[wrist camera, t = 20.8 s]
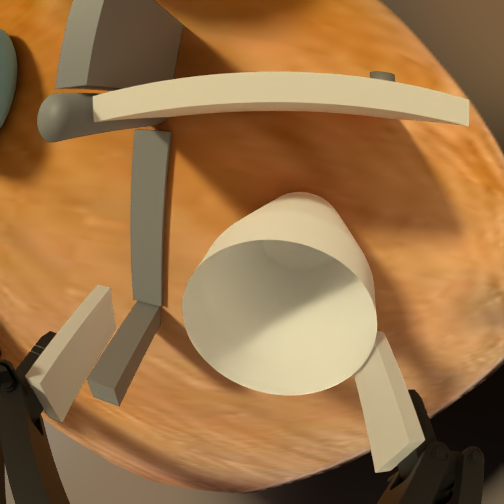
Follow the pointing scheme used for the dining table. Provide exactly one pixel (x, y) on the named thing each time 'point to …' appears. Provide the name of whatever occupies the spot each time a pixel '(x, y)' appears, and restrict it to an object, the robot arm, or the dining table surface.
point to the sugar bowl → (7, 74)
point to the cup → (284, 299)
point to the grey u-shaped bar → (144, 151)
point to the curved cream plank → (282, 97)
